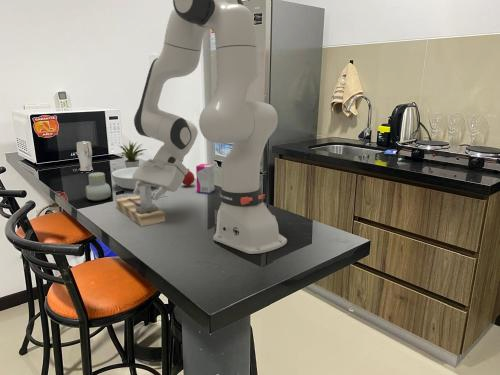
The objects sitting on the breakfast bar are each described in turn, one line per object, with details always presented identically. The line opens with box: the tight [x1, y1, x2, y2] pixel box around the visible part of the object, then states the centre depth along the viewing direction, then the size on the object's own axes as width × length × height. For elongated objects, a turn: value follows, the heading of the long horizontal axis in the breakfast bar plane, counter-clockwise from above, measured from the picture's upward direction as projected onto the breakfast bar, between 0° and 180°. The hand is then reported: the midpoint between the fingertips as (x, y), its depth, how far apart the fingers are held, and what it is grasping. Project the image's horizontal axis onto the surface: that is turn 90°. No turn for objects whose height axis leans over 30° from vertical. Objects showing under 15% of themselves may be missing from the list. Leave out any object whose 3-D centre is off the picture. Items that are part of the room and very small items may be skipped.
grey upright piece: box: [136, 185, 159, 213], centre depth 124 cm, size 4×6×8 cm, turn 127°
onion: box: [181, 168, 195, 187], centre depth 166 cm, size 6×6×8 cm
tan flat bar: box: [115, 195, 166, 227], centre depth 131 cm, size 24×8×3 cm, turn 37°
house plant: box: [119, 141, 148, 168], centre depth 189 cm, size 14×14×16 cm
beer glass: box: [76, 140, 94, 171], centre depth 193 cm, size 7×7×15 cm
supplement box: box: [195, 163, 216, 195], centre depth 158 cm, size 6×6×12 cm
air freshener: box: [85, 171, 112, 202], centre depth 148 cm, size 11×8×10 cm
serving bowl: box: [111, 167, 149, 191], centre depth 165 cm, size 21×21×7 cm
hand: (144, 196), depth 124 cm, fingers open, 8 cm apart
